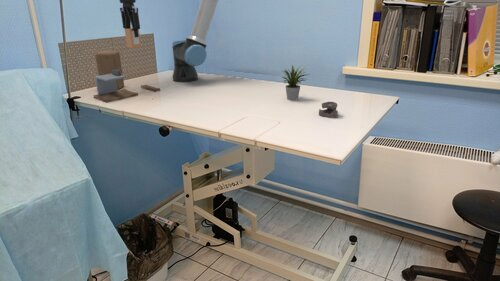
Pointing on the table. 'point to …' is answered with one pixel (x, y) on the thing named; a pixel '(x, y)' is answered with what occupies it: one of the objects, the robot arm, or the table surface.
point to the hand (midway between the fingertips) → (133, 43)
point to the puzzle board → (122, 94)
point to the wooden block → (109, 64)
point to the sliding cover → (108, 82)
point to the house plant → (293, 83)
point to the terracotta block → (131, 38)
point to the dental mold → (329, 110)
